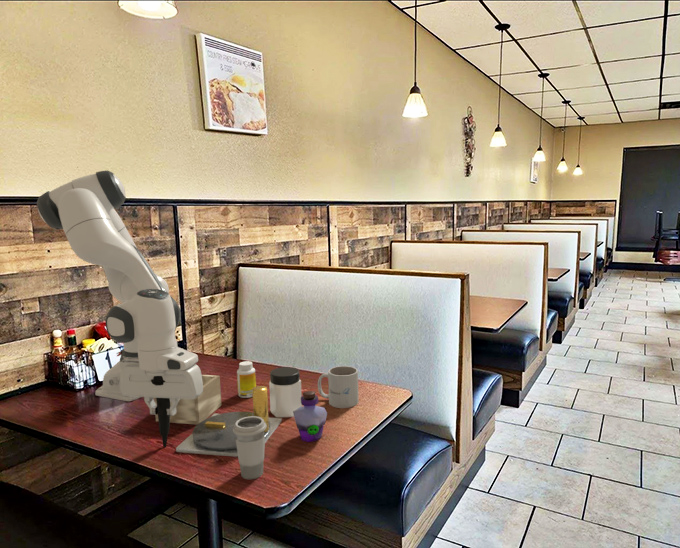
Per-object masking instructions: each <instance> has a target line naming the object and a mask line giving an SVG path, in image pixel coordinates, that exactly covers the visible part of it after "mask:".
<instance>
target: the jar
mask: <svg viewBox="0 0 680 548" xmlns="http://www.w3.org/2000/svg"><path fill="white" fill-rule="evenodd" d="M300 375H301V374H300V370H299V369H298V368H296V367H294V366H293V367H292V366H282V367H277V368H274V369H272V370H271V371H270V373H269V377H270V380H269V381H268V384H269V385H268V386H269V387H268V388H269V406H270V408H269V409H270V410H269V411H270V413H271V414H272V415H273V416H274V418H294V414H293V411H295V410H296V409H298V408H300V407H303V405H302V404H301V397H302V396H303V392H302V380H301V379H300Z"/></svg>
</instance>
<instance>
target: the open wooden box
mask: <svg viewBox="0 0 680 548" xmlns="http://www.w3.org/2000/svg"><path fill="white" fill-rule="evenodd" d="M201 375H202V381H203V392H202V394H201V395H200V396H199V397H197V398H196V399H180V400H179V402H178V404H177V406H176V414H175V415H174V416H170V423H173V424H174V423H175V424H183V425H184V424H188V425H195V426H197V425H198V424H199V423H200V422H202V421H203V420H205V419H207V418H210V417H211V416H212V415H213V414H214V413H215V412H216V411H217V410H218V409H219V408H221V406H222V390H221V389H222V388H221V376H220V375H216V374H215V375H211V374H201ZM153 400H154V402H155V403H156V405H157V400H156V398H153ZM171 404H172V402H170V406H171ZM155 422H158V414H157V415H155Z"/></svg>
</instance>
